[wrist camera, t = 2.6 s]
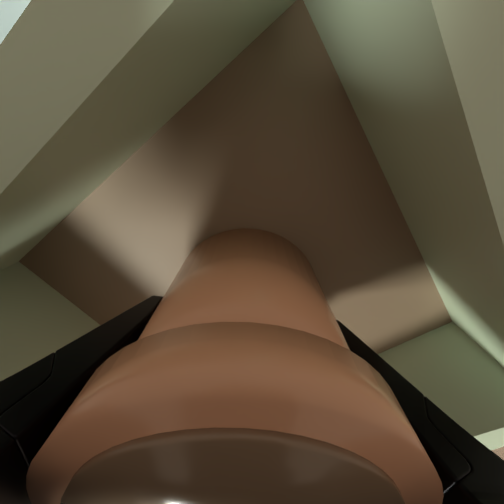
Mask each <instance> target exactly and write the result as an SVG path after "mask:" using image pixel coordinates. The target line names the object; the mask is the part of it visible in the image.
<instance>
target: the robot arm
mask: <svg viewBox="0 0 504 504" xmlns="http://www.w3.org/2000/svg"><path fill="white" fill-rule="evenodd" d="M162 298H163V296H156V295H153V296H151V297H149V298H147V299H146V300H144V301H142V302H140V303H139V304H137V305H135V306H133V307H132V308H130V309H128V310H126V311H125V312H123V313H121V314H119V315H118V316H116V317H114V318H112V319H111V320H109V321H107V322H105V323H104V324H102V325H100V326H98V327H97V328H95V329H93V330H91V331H90V332H88V333H86V334H84V335H83V336H81V337H79V338H77V339H76V340H74V341H72V342H70V343H69V344H67V345H65V346H63V347H62V348H60V349H58V350H57V351H56V352H55V353H54V352H53V353H51V354H49V355H48V356H46V357H44V358H42V359H41V360H39V361H37V362H35V363H33V364H32V365H30V366H28V367H26V368H24V369H23V370H21V371H19V372H17V373H15V374H13V375H11V376H9V377H8V378H6V379H4V380H2V381H0V504H32V503H31V501H30V499H29V496H28V492H27V489H26V475H27V472H28V469H29V466H30V463H31V461H32V460H33V458H34V457H35V456H36V454H37V453H38V451H39V450H40V448H41V447H42V446H43V444H44V443H45V441H46V440H47V439H48V437H49V436H50V434H51V433H52V431H53V430H54V429H55V427H56V426H57V424H58V423H59V421H60V420H61V419H62V417H63V416H64V414H65V413H66V411H67V410H68V409H69V407H70V406H71V404H72V403H73V401H74V400H75V399H76V397H77V396H78V394H79V393H80V392H81V390H82V389H83V387H84V386H85V384H86V383H87V382H88V380H89V379H90V377H91V376H92V375H93V373H94V372H95V370H96V369H97V368H98V367H99V366H100V365H101V364H102V363H104V362H105V361H106V360H107V359H108V358H109V357H110V356H112V355H113V354H115V353H116V352H118V351H119V350H121V349H122V348H124V347H125V346H127V345H129V344H132V343H134V342H136V341H137V340H138V339H139V337H140V335H141V334H142V332H143V330H144V329H145V327H146V325H147V324H148V322H149V320H150V318H151V317H152V315H153V313H154V312H155V310H156V308H157V307H158V305H159V303H160V302H161V300H162ZM336 321H337V323H338V325H339V327H340V329H341V332H342V334H343V336H344V338H345V340H346V342H347V345H348V347H349V349H350V351H352V352H353V353H355V354H356V355H358V356H359V357H361V358H362V359H364V360H365V361H367V362H368V363H369V364H370V365H371V366H372V367H373V368H374V369H375V370H376V371H378V372H379V373H380V374H381V376H382V377H383V378H384V380H385V381H386V382H387V384H388V385H389V386H390V388H391V390H392V391H393V393H394V395H395V397H396V399H397V400H398V402H399V404H400V406H401V408H402V409H403V411H404V413H405V415H406V417H407V418H408V420H409V422H410V424H411V426H412V427H413V429H414V431H415V433H416V435H417V436H418V438H419V440H420V442H421V444H422V445H423V447H424V449H425V451H426V453H427V454H428V456H429V458H430V460H431V462H432V463H433V465H434V467H435V469H436V471H437V473H438V475H439V478H440V480H441V482H442V487H443V495H444V497H443V502H442V504H504V460H502V459H501V458H500V457H499V456H497V455H496V454H495V453H493V452H492V451H491V450H490V449H488V448H487V447H486V446H485V445H483V444H482V443H481V442H480V441H478V440H477V439H476V438H475V437H473V436H472V435H471V434H470V433H468V432H467V431H466V430H465V429H464V428H462V427H461V426H460V425H459V424H457V423H456V422H455V421H454V420H453V419H451V418H450V417H449V416H448V415H447V414H446V413H444V412H443V411H442V410H441V409H440V408H439V407H437V406H436V405H435V404H434V403H433V402H432V401H431V400H429V399H428V398H427V397H426V396H424V395H423V394H422V393H421V392H420V391H419V390H418V389H417V388H416V387H414V386H413V385H412V384H411V383H410V382H409V381H408V380H406V379H405V378H404V377H403V376H402V375H401V374H400V373H398V372H397V371H396V370H395V369H394V368H393V367H392V366H390V365H389V364H388V363H387V362H386V361H385V360H384V359H382V358H381V357H380V356H379V355H378V354H377V353H376V352H374V351H373V350H372V349H371V348H370V347H369V346H368V345H366V344H365V343H364V342H363V341H362V340H361V339H360V338H358V337H357V336H356V335H355V334H354V333H353V332H352V331H350V330H349V329H348V328H347V327H346V326H345V325H344V324H342V323H341V322H340V321H339V320H336Z"/></svg>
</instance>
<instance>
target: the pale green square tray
mask: <svg viewBox="0 0 504 504" xmlns="http://www.w3.org/2000/svg"><path fill="white" fill-rule="evenodd" d="M241 228H248V229H259V230H264V231H268V232H272V233H274V234H277V235H279V236H282V237H283V238H285V239H287V240H289V241H290V242H291V243H293V244H294V245H295V246H297V247H298V248H299V249H300V250H301V251H302V252H303V254H304V255H305V256H306V258H307V259H308V261H309V263H310V264H311V266H312V268H313V271H314V273H315V275H316V277H317V279H318V281H319V284H320V286H321V288H322V290H323V292H324V295H325V297H326V299H327V301H328V303H329V305H330V308H331V310H332V312H333V314H334V316H335V318H336V320H339V321H340V322H341V323H342V324H344V325H345V326H346V327H347V328H348V329H349V330H350V331H352V332H353V333H354V334H355V335H356V336H357V337H358V338H360V339H361V340H362V341H363V342H364V343H365V344H366V345H368V346H369V347H370V348H371V349H372V350H373V351H374V352H376V353H377V354H378V355H379V356H380V357H381V358H382V359H384V360H385V361H386V362H387V363H388V364H389V365H390V366H392V367H393V368H394V369H395V370H396V371H397V372H398V373H400V374H401V375H402V376H403V377H404V378H405V379H406V380H408V381H409V382H410V383H411V384H412V385H413V386H414V387H416V388H417V389H418V390H419V391H420V392H421V393H422V394H423V395H424V396H426V397H427V398H428V399H429V400H431V401H432V402H433V403H434V404H435V405H436V406H437V407H439V408H440V409H441V410H442V411H443V412H444V413H446V414H447V415H448V416H449V417H450V418H451V419H453V420H454V421H455V422H456V423H457V424H459V425H460V426H461V427H462V428H464V429H465V430H466V431H467V432H468V433H470V434H471V435H472V436H473V437H475V438H476V439H477V440H478V441H480V442H481V443H482V444H483V445H485V446H486V447H487V448H488V449H490V450H494V449H497V448H501V447H504V0H31V2H30V3H29V5H28V6H27V7H26V9H25V10H24V12H23V13H22V15H21V16H20V17H19V19H18V20H17V22H16V23H15V25H14V26H13V27H12V29H11V30H10V32H9V33H8V35H7V36H6V37H5V39H4V40H3V42H2V43H1V45H0V381H2V380H4V379H6V378H8V377H9V376H11V375H13V374H15V373H17V372H19V371H21V370H23V369H24V368H26V367H28V366H30V365H32V364H33V363H35V362H37V361H39V360H41V359H42V358H44V357H46V356H48V355H49V354H51V353H53V352H54V353H55V352H56V351H57V350H58V349H60V348H62V347H63V346H65V345H67V344H69V343H70V342H72V341H74V340H76V339H77V338H79V337H81V336H83V335H84V334H86V333H88V332H90V331H91V330H93V329H95V328H97V327H98V326H100V325H102V324H104V323H105V322H107V321H109V320H111V319H112V318H114V317H116V316H118V315H119V314H121V313H123V312H125V311H126V310H128V309H130V308H132V307H133V306H135V305H137V304H139V303H140V302H142V301H144V300H146V299H147V298H149V297H151V296H153V295H156V296H163V297H164V295H165V293H166V292H167V290H168V288H169V287H170V285H171V283H172V282H173V280H174V278H175V277H176V275H177V273H178V271H179V270H180V268H181V266H182V265H183V263H184V261H185V260H186V258H187V257H188V255H189V254H190V253H191V251H192V250H193V249H194V248H195V247H196V246H197V245H199V244H200V243H201V242H203V241H204V240H206V239H208V238H209V237H211V236H213V235H216V234H218V233H221V232H224V231H228V230H233V229H241Z"/></svg>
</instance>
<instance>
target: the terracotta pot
mask: <svg viewBox="0 0 504 504" xmlns="http://www.w3.org/2000/svg"><path fill="white" fill-rule="evenodd" d="M26 489H27V492H28V496H29V499H30V501H31V503H32V504H442V502H443V497H444V495H443V487H442V482H441V480H440V478H439V475H438V473H437V471H436V469H435V467H434V465H433V463H432V462H431V460H430V458H429V456H428V454H427V453H426V451H425V449H424V447H423V445H422V444H421V442H420V440H419V438H418V436H417V435H416V433H415V431H414V429H413V427H412V426H411V424H410V422H409V420H408V418H407V417H406V415H405V413H404V411H403V409H402V408H401V406H400V404H399V402H398V400H397V399H396V397H395V395H394V393H393V391H392V390H391V388H390V386H389V385H388V384H387V382H386V381H385V380H384V378H383V377H382V376H381V374H380V373H379V372H378V371H376V370H375V369H374V368H373V367H372V366H371V365H370V364H369V363H368V362H367V361H365V360H364V359H362V358H361V357H359V356H358V355H356V354H355V353H353V352H352V351H350V349H349V347H348V345H347V342H346V340H345V338H344V336H343V334H342V332H341V329H340V327H339V325H338V323H337V321H336V318H335V316H334V314H333V312H332V310H331V308H330V305H329V303H328V301H327V299H326V297H325V295H324V292H323V290H322V288H321V286H320V284H319V281H318V279H317V277H316V275H315V273H314V271H313V268H312V266H311V264H310V263H309V261H308V259H307V258H306V256H305V255H304V254H303V252H302V251H301V250H300V249H299V248H298V247H297V246H295V245H294V244H293V243H291V242H290V241H289V240H287V239H285V238H283V237H282V236H279V235H277V234H274V233H272V232H268V231H264V230H259V229H248V228H241V229H233V230H228V231H224V232H221V233H218V234H216V235H213V236H211V237H209V238H208V239H206V240H204V241H203V242H201V243H200V244H199V245H197V246H196V247H195V248H194V249H193V250H192V251H191V253H190V254H189V255H188V257H187V258H186V260H185V261H184V263H183V265H182V266H181V268H180V270H179V271H178V273H177V275H176V277H175V278H174V280H173V282H172V283H171V285H170V287H169V288H168V290H167V292H166V293H165V295H164V297H163V298H162V300H161V302H160V303H159V305H158V307H157V308H156V310H155V312H154V313H153V315H152V317H151V318H150V320H149V322H148V324H147V325H146V327H145V329H144V330H143V332H142V334H141V335H140V337H139V339H138V340H137V341H136V342H134V343H132V344H129V345H127V346H125V347H124V348H122V349H121V350H119V351H118V352H116V353H115V354H113V355H112V356H110V357H109V358H108V359H107V360H106V361H105V362H104V363H102V364H101V365H100V366H99V367H98V368H97V369H96V370H95V372H94V373H93V375H92V376H91V377H90V379H89V380H88V382H87V383H86V384H85V386H84V387H83V389H82V390H81V392H80V393H79V394H78V396H77V397H76V399H75V400H74V401H73V403H72V404H71V406H70V407H69V409H68V410H67V411H66V413H65V414H64V416H63V417H62V419H61V420H60V421H59V423H58V424H57V426H56V427H55V429H54V430H53V431H52V433H51V434H50V436H49V437H48V439H47V440H46V441H45V443H44V444H43V446H42V447H41V448H40V450H39V451H38V453H37V454H36V456H35V457H34V458H33V460H32V461H31V463H30V466H29V469H28V472H27V475H26Z"/></svg>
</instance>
